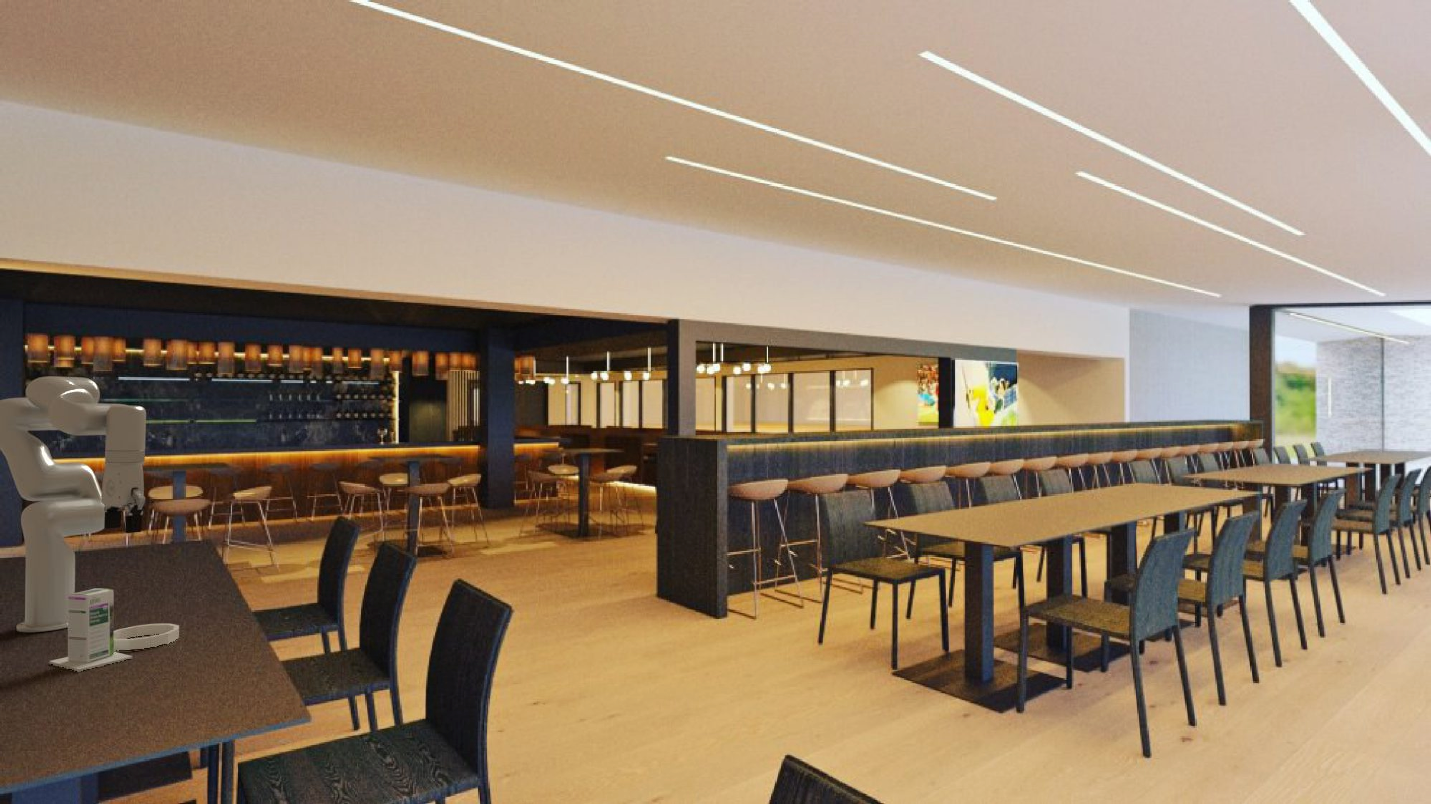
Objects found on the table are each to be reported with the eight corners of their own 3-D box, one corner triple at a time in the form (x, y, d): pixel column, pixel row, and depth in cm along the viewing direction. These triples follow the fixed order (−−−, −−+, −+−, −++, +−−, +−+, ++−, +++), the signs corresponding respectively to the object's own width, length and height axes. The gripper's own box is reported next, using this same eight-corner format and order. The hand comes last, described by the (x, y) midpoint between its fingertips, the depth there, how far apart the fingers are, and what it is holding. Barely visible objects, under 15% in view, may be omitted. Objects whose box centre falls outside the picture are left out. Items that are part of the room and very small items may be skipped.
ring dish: (91, 646, 181) (92, 635, 181) (158, 631, 194) (158, 621, 194) (125, 654, 175) (125, 643, 175) (191, 638, 187) (191, 628, 187)
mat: (49, 663, 168) (49, 661, 168) (103, 651, 177) (103, 648, 177) (78, 672, 163) (78, 669, 163) (132, 659, 172) (132, 656, 172)
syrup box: (87, 663, 167) (88, 594, 167) (66, 661, 168) (67, 593, 169) (114, 655, 172) (115, 588, 173) (93, 653, 174) (94, 587, 174)
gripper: (88, 456, 187) (86, 528, 187) (125, 460, 179) (122, 536, 179) (125, 454, 194) (122, 524, 194) (161, 459, 185) (159, 532, 185)
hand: (122, 530), depth 186 cm, fingers open, 9 cm apart
